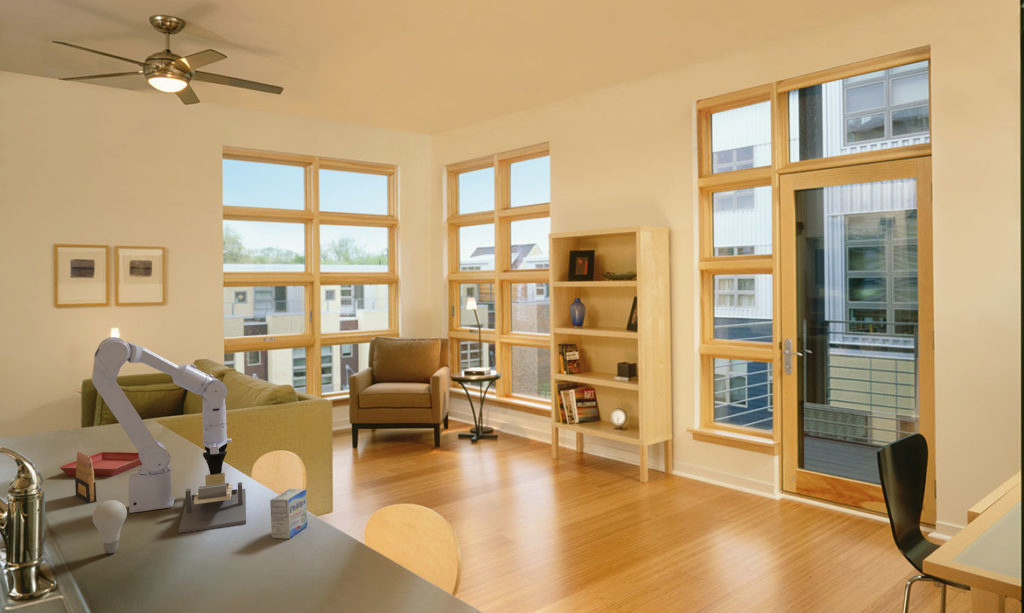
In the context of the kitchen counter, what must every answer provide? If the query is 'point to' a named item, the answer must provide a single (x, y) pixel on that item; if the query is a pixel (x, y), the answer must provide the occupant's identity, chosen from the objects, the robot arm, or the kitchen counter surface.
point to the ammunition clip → (85, 478)
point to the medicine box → (288, 513)
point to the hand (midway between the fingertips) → (216, 474)
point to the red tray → (107, 463)
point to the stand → (214, 512)
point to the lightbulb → (110, 523)
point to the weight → (215, 479)
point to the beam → (214, 493)
